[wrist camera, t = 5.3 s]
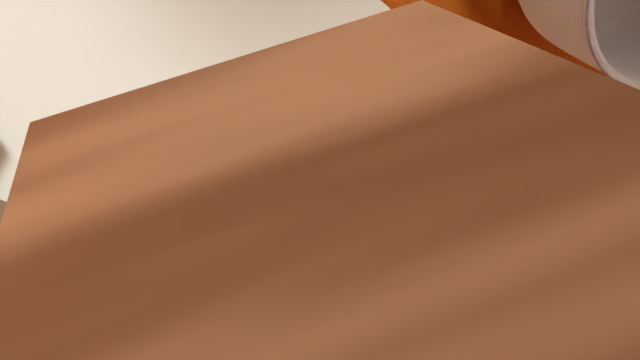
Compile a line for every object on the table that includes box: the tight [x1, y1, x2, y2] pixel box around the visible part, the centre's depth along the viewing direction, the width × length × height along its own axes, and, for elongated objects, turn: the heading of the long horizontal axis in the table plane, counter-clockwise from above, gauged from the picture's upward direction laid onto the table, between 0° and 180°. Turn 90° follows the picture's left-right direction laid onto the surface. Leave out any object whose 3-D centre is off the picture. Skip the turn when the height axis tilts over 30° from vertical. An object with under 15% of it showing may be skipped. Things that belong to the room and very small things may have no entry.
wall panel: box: [0, 0, 391, 224], centre depth 26 cm, size 18×20×2 cm
